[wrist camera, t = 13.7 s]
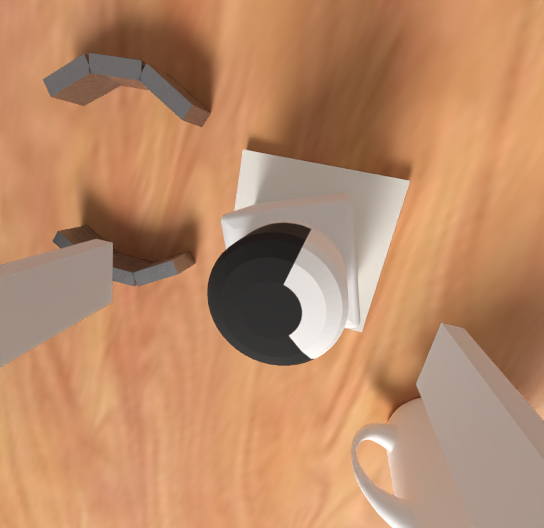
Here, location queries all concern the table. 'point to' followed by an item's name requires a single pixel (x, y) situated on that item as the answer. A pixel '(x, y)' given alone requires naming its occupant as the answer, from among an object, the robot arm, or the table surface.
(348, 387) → the table surface
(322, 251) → the medicine bottle
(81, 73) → the cradle
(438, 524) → the mug
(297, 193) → the tile
